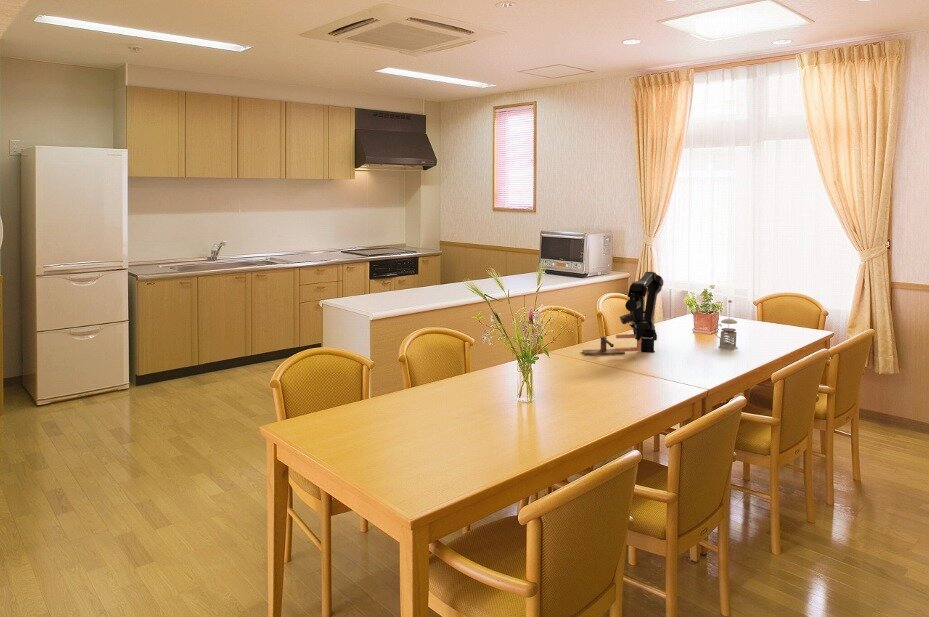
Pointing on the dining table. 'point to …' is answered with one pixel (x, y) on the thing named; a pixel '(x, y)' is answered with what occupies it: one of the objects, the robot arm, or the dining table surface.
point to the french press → (730, 332)
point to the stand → (603, 349)
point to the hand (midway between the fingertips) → (637, 339)
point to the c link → (630, 347)
